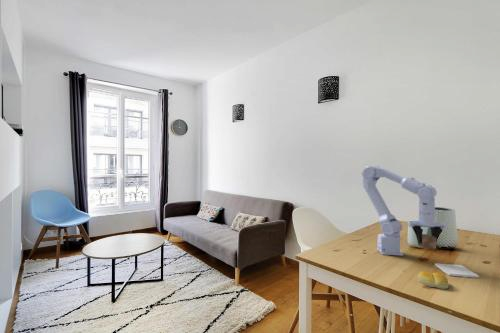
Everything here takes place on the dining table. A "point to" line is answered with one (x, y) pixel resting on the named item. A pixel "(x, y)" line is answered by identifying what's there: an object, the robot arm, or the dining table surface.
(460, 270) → the grey tile
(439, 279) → the bread roll
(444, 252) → the dining table surface
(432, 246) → the walnut block
